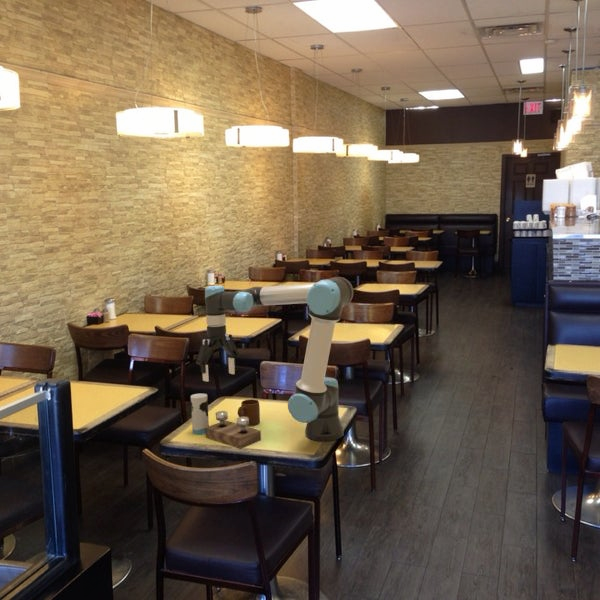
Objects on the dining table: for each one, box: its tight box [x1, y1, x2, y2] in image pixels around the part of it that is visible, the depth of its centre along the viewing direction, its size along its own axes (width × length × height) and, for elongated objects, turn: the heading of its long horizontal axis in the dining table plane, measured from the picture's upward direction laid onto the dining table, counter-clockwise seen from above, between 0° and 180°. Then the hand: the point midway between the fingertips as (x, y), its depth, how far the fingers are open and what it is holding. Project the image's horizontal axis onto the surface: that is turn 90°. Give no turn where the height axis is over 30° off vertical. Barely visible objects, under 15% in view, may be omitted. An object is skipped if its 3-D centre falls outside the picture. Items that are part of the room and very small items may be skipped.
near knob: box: [236, 416, 249, 434], centre depth 258 cm, size 5×5×6 cm
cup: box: [190, 393, 210, 435], centre depth 271 cm, size 7×7×15 cm
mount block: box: [205, 420, 262, 450], centre depth 263 cm, size 20×11×4 cm, turn 49°
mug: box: [237, 399, 261, 427], centre depth 278 cm, size 12×8×9 cm, turn 147°
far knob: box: [215, 410, 229, 428], centre depth 266 cm, size 5×5×6 cm
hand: (219, 377), depth 267 cm, fingers open, 13 cm apart
